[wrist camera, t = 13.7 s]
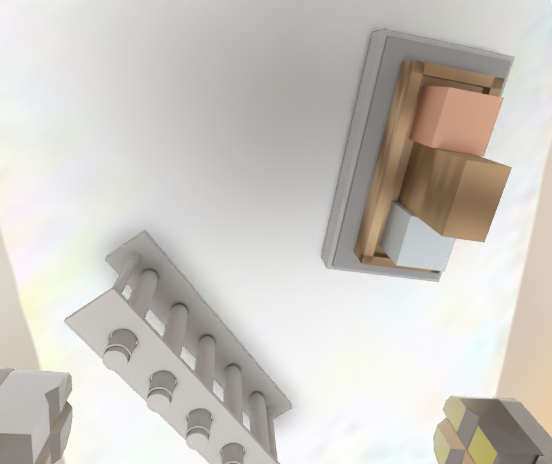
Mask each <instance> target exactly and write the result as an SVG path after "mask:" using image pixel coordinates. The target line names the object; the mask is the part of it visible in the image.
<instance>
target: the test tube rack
mask: <svg viewBox="0 0 552 464" xmlns="http://www.w3.org/2000/svg"><path fill="white" fill-rule="evenodd" d="M105 260H106V261H107V262H108V263H109V264H110V265H111V266H112V268H113V269H114V270H115V271H116V272H117V273H118V274H119V277H118V279H117V281H116V282H115V284H114V286H113V288H111V289H110V290H108V291H107V292H105V293H104V294H102V295H100V296H99V297H97V298H96V299H94V300H93V301H91V302H90V303H88V304H87V305H85V306H84V307H82V308H81V309H79V310H78V311H76V312H75V313H73V314H72V315H70V316H69V317H67V318H66V319H65V320H64V322H65V323H66V324H67V325H68V326H69V327H70V328H71V329H72V330H73V331H74V332H75V333H76V334H77V335H78V336H79V337H80V338H81V339H82V340H83V341H84V342H85V343H86V344H87V345H88V346H89V347H90V348H91V349H92V350H93V351H94V352H95V353H97V354H98V355H99V356H100V357H101V358H102V359H103V363H104V365H105V366H106V367H107V368H108V369H110V370H113V371H115V372H116V373H117V374H118V375H119V376H120V377H121V378H122V379H123V380H124V381H125V382H126V383H127V384H128V385H129V386H131V387H132V388H133V389H134V390H135V391H136V392H137V393H138V394H139V395H140V396H141V397H142V398H143V399H144V400H145V401H146V402H147V406H148V408H149V409H150V410H152V411H154V412H157V413H158V414H159V415H160V416H161V417H162V418H163V419H164V420H165V421H167V422H168V423H169V424H170V425H171V426H172V427H173V428H174V429H175V430H176V431H177V432H178V433H179V434H180V435H181V436H182V437H183V438H184V439H185V440H186V443H187V445H188V446H189V447H190V448H191V449H193V450H196V451H197V452H198V453H199V454H200V455H202V456H203V457H204V458H205V459H206V460H207V461H208V462H209V463H210V464H280V463H279V462H278V460H277V452H276V443H275V434H274V425H273V419H274V418H275V417H277V416H279V415H281V414H282V413H284V412H286V411H287V410H289V409H291V408H292V406H291V403H290V401H289V400H288V399H287V398H286V397H285V395H284V394H283V393H282V392H281V391H280V390H279V388H278V387H277V386H276V385H275V384H274V383H273V381H272V380H271V379H270V378H269V377H268V375H267V374H266V373H265V372H264V371H263V369H262V368H261V367H260V366H259V365H258V364H257V362H256V361H255V360H254V359H253V358H252V356H251V355H250V354H249V353H248V352H247V351H246V349H245V348H244V347H243V346H242V345H241V343H240V342H239V341H238V340H237V339H236V337H235V336H234V335H233V334H232V333H231V332H230V330H229V329H228V328H227V327H226V326H225V324H224V323H223V322H222V321H221V320H220V319H219V317H218V316H217V315H216V314H215V313H214V311H213V310H212V309H211V308H210V307H209V305H208V304H207V303H206V302H205V301H204V300H203V298H202V297H201V296H200V295H199V294H198V292H197V291H196V290H195V289H194V288H193V287H192V285H191V284H190V283H189V282H188V281H187V279H186V278H185V277H184V276H183V275H182V273H181V272H180V271H179V270H178V269H177V268H176V266H175V265H174V264H173V263H172V262H171V260H170V259H169V258H168V257H167V256H166V254H165V253H164V252H163V251H162V250H161V249H160V247H159V246H158V245H157V244H156V243H155V241H154V240H153V239H152V238H151V237H150V235H149V234H148V233H147V232H146V231H143V232H142V233H140V234H139V235H137V236H136V237H134V238H133V239H131V240H130V241H128V242H127V243H126V244H124V245H123V246H121V247H120V248H118V249H117V250H115V251H114V252H112V253H111V254H109V255H108V256H107V257H106V258H105ZM126 284H128V285H129V286H130V287H131V288H132V289H133V291H132V293H131V295H130V298H129V300H127V299H126V298H125V297H124V296H123V295H122V294H121V293H122V291H123V290H124V288H125V286H126ZM149 308H150V309H151V310H152V311H153V312H154V313H155V314H156V316H157V317H158V318H159V319H160V320H161V321H162V322H163V323H164V324H165V325H166V327H165V331H164V335H163V338H162V337H161V336H160V335H159V333H158V332H157V331H156V330H155V329H154V328H153V327H152V326H151V325H150V324H149V323H148V322H147V321H146V319H145V317H146V314H147V311H148V309H149ZM112 333H113V334H112ZM111 334H112V336H111ZM110 337H111V339H110ZM137 340H138V342H137ZM136 342H137V344H136ZM182 344H183V345H184V346H185V347H186V348H187V350H188V351H189V352H190V353H191V354H192V355H193V356H194V357H195V358H196V363H195V371H193V370H192V369H191V368H190V367H189V366H188V365H187V364H186V362H185V361H184V360H183V359H182V358H181V357H180V355H181V350H182ZM152 375H153V376H152ZM151 377H152V380H151ZM213 379H215V380H216V381H217V382H218V383H219V385H220V386H221V387H222V388H223V389H224V402H222V401H221V400H220V399H219V398H218V397H217V396H216V395H215V394H214V393H213ZM175 381H177V382H176V384H175ZM242 410H243V411H244V412H245V413H246V414H247V415H248V416H249V417H250V431H249V430H248V429H247V428H246V427H245V426H244V425H243V421H242ZM188 414H189V416H188ZM211 415H212V419H211ZM243 448H244V452H243ZM221 449H222V453H221Z"/></svg>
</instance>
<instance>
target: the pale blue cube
mask: <svg viewBox="0 0 552 464" xmlns="http://www.w3.org/2000/svg"><path fill="white" fill-rule="evenodd" d="M455 239H456V238H450V237H443V236H441V235H440V234H438V233H437V232H436V231H435V230H433V229H432V228H431V227H430V226H428V225H427V224H426V223H424V222H423V221H422V220H421V219H419V218H418V217H417V216H415V215H414V214H413V213H412V212H410V211H409V210H408V209H407V208H405V207H404V206H403V205H401V204H400V203H399V202H397V201H391V205H390V209H389V212H388V216H387V220H386V223H385V227H384V230H383V234H382V238H381V241H380V245H379V246H380V247H381V248H382V249H383V250H384V252H385V253H386V254H387V255H388V256H389V257H390V259H391V260H392V261H393V262H394V263H395V265H397V266H405V267H413V268H421V269H429V270H437V271H445V269H446V266H447V263H448V260H449V257H450V254H451V251H452V248H453V245H454V242H455Z"/></svg>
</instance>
